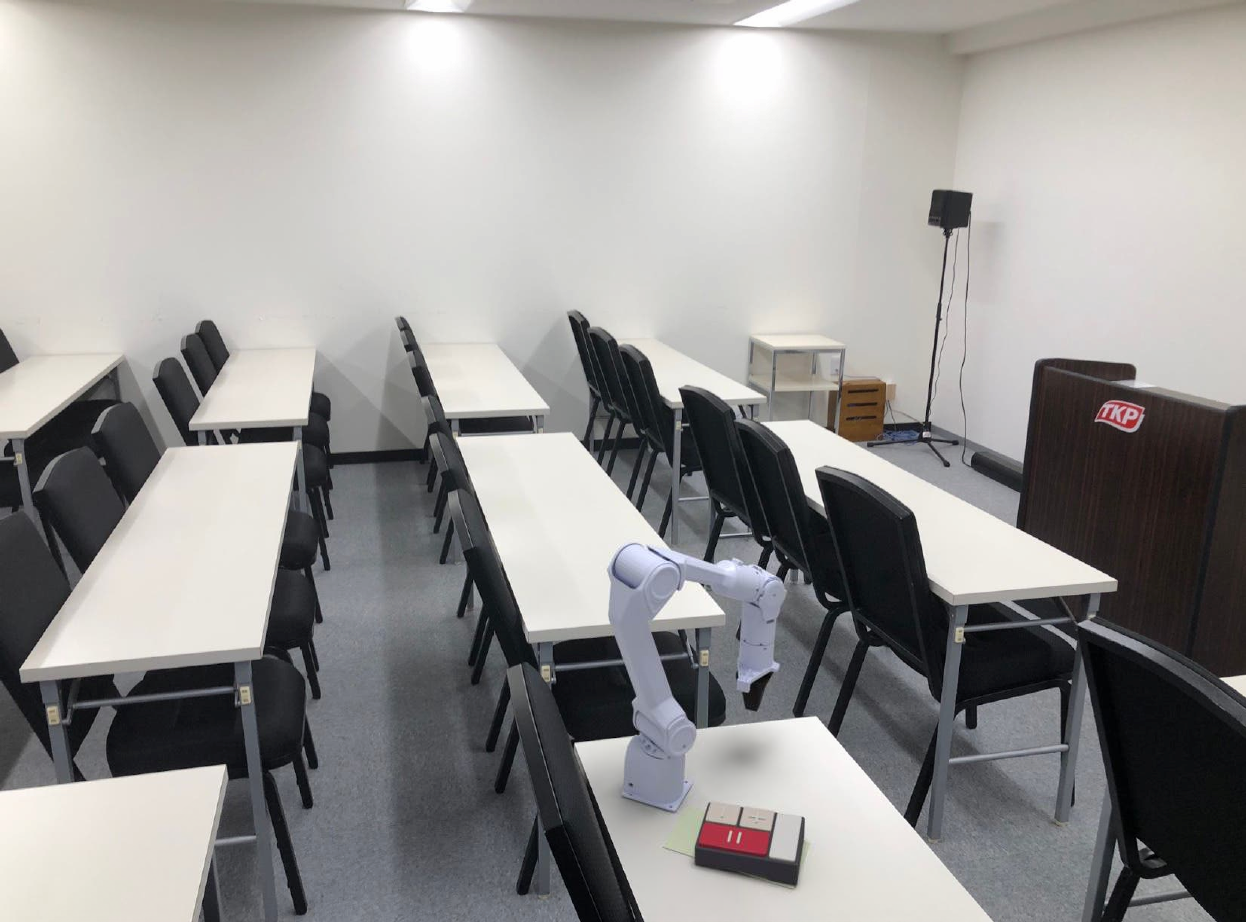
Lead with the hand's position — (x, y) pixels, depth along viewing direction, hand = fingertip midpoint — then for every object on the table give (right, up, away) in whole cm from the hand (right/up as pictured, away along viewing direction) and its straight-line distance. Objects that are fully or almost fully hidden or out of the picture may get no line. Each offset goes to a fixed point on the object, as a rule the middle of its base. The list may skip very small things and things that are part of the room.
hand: (752, 708), depth 162 cm
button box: (-3, -16, -20) cm, 26 cm away
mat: (-5, -16, -19) cm, 25 cm away
